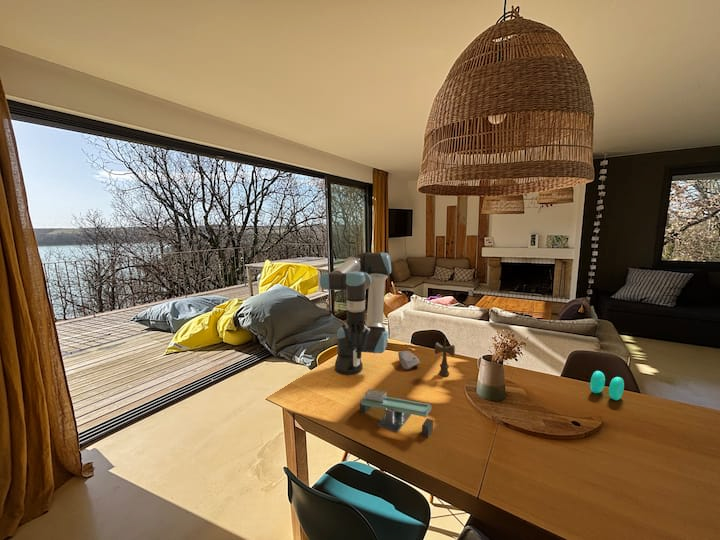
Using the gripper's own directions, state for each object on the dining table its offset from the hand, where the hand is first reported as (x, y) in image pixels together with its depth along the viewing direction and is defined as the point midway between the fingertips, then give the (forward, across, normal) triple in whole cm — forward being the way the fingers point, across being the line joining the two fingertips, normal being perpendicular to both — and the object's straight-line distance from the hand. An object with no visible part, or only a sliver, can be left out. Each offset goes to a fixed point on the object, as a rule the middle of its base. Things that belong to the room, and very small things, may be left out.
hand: (356, 365), depth 126 cm
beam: (+13, +17, 0) cm, 21 cm away
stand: (+19, +17, 0) cm, 26 cm away
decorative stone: (+19, +2, +48) cm, 52 cm away
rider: (+13, +9, 0) cm, 16 cm away
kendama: (+19, +22, +47) cm, 56 cm away
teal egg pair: (+19, +89, +65) cm, 112 cm away
